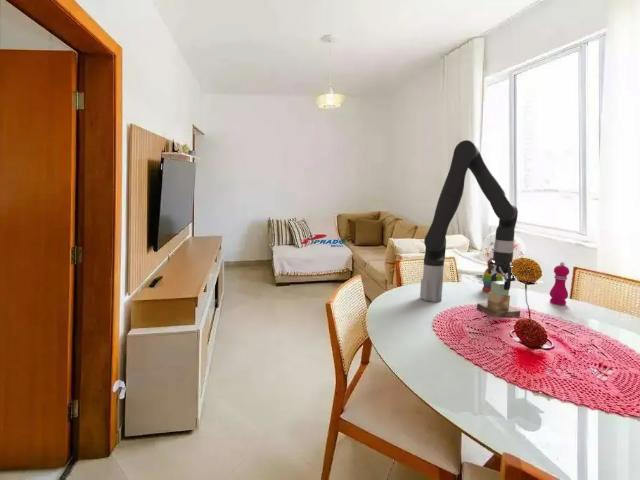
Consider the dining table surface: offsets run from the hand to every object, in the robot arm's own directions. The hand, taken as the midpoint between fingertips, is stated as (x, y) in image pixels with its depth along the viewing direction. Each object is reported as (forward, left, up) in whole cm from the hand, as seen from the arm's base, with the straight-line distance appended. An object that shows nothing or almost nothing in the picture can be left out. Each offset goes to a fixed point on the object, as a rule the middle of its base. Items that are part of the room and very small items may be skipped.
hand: (499, 287), depth 151 cm
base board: (0, 0, -11) cm, 11 cm away
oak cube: (0, 0, -9) cm, 9 cm away
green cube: (0, 0, -3) cm, 3 cm away
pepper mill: (+37, +7, -11) cm, 39 cm away
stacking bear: (+19, +30, -11) cm, 37 cm away
